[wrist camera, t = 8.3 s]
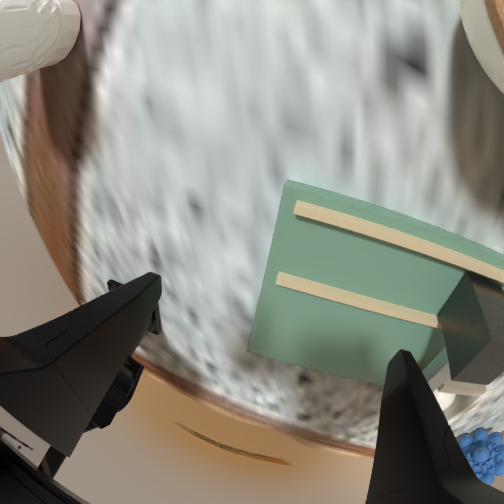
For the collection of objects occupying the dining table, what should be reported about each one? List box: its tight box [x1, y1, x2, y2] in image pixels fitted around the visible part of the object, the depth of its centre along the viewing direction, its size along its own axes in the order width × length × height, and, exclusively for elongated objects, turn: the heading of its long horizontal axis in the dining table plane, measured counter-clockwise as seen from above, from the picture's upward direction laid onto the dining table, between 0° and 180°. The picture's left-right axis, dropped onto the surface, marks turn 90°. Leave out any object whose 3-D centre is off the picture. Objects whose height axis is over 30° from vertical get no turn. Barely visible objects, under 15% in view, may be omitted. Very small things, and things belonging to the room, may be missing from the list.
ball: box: [433, 388, 456, 411], centre depth 23 cm, size 4×4×4 cm
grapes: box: [458, 428, 504, 485], centre depth 26 cm, size 12×7×12 cm, turn 125°
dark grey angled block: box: [422, 272, 504, 392], centre depth 18 cm, size 14×4×6 cm, turn 172°
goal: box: [438, 376, 493, 424], centre depth 23 cm, size 8×7×5 cm
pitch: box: [247, 179, 504, 385], centre depth 22 cm, size 18×26×2 cm
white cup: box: [0, 0, 81, 83], centre depth 12 cm, size 8×8×10 cm
